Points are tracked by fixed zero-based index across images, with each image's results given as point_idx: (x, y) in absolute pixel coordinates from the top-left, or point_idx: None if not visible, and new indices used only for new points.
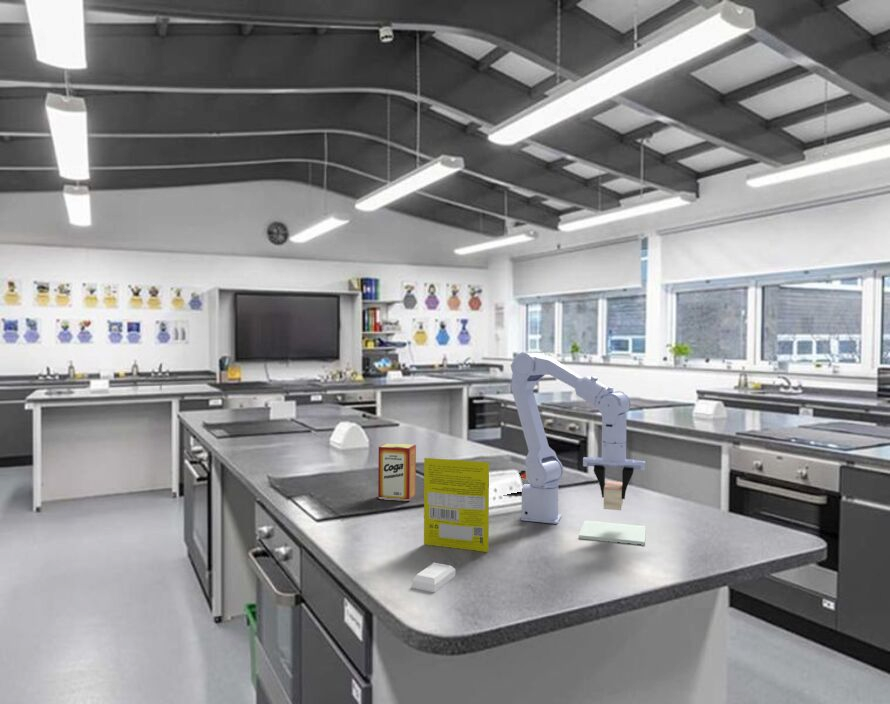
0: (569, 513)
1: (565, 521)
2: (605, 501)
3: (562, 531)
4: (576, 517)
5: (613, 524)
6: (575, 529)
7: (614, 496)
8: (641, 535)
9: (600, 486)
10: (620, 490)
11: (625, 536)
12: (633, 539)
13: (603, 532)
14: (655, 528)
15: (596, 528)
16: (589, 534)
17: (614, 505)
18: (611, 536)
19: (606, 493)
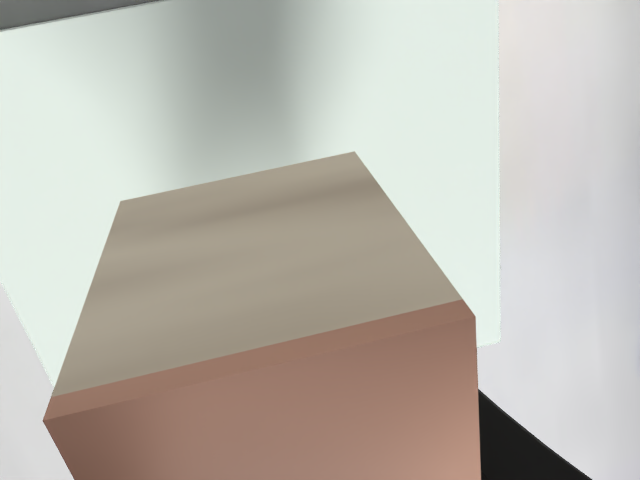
0: (596, 450)
1: (612, 304)
2: (355, 198)
3: (623, 73)
4: (551, 409)
5: None
6: (534, 174)
7: (213, 278)
8: (6, 224)
9: (549, 452)
10: (67, 392)
11: (113, 125)
12: (14, 73)
13: (315, 137)
14: (40, 476)
15: None
16: (412, 14)
17: (210, 205)
18: (221, 56)
19: (376, 268)
